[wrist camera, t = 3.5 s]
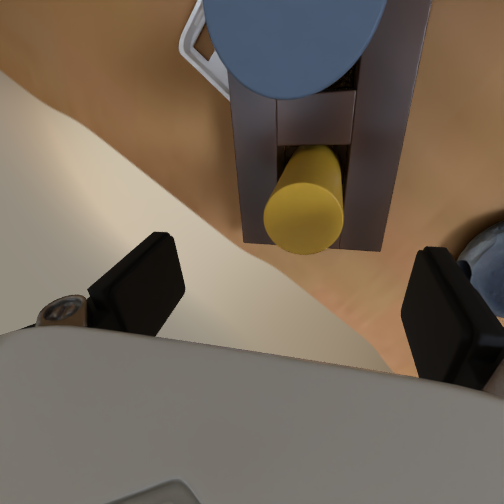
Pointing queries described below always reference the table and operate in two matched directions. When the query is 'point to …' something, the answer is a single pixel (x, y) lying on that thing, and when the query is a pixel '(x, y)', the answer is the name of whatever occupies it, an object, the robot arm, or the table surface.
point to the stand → (337, 130)
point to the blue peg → (290, 41)
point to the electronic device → (486, 266)
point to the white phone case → (209, 69)
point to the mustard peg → (307, 202)
